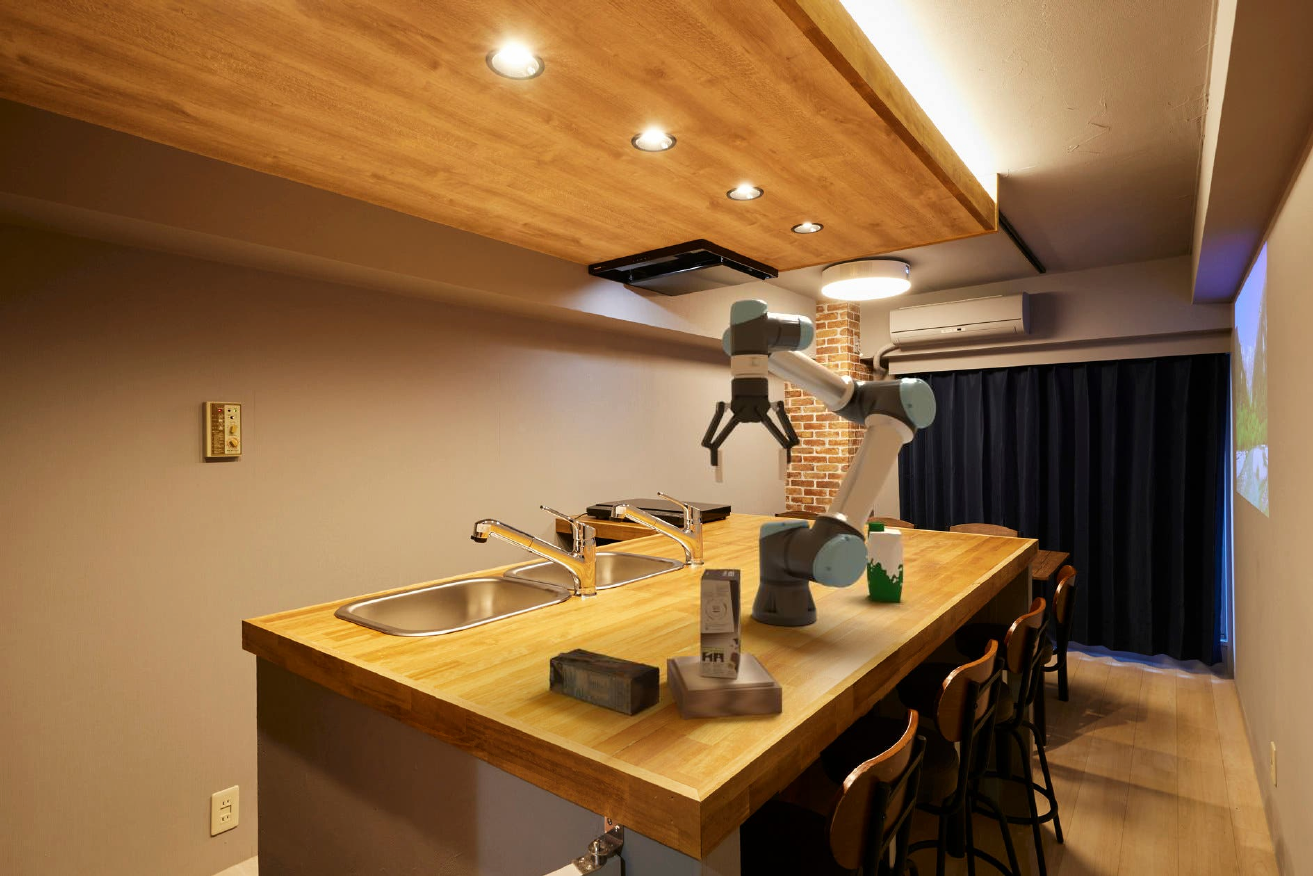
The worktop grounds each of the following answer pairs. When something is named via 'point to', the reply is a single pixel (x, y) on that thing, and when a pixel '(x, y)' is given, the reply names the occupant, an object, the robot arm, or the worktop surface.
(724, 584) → the coffee box
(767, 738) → the worktop surface
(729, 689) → the shelf riser
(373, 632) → the worktop surface
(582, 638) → the worktop surface
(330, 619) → the worktop surface
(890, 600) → the milk carton
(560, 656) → the beverage carton
